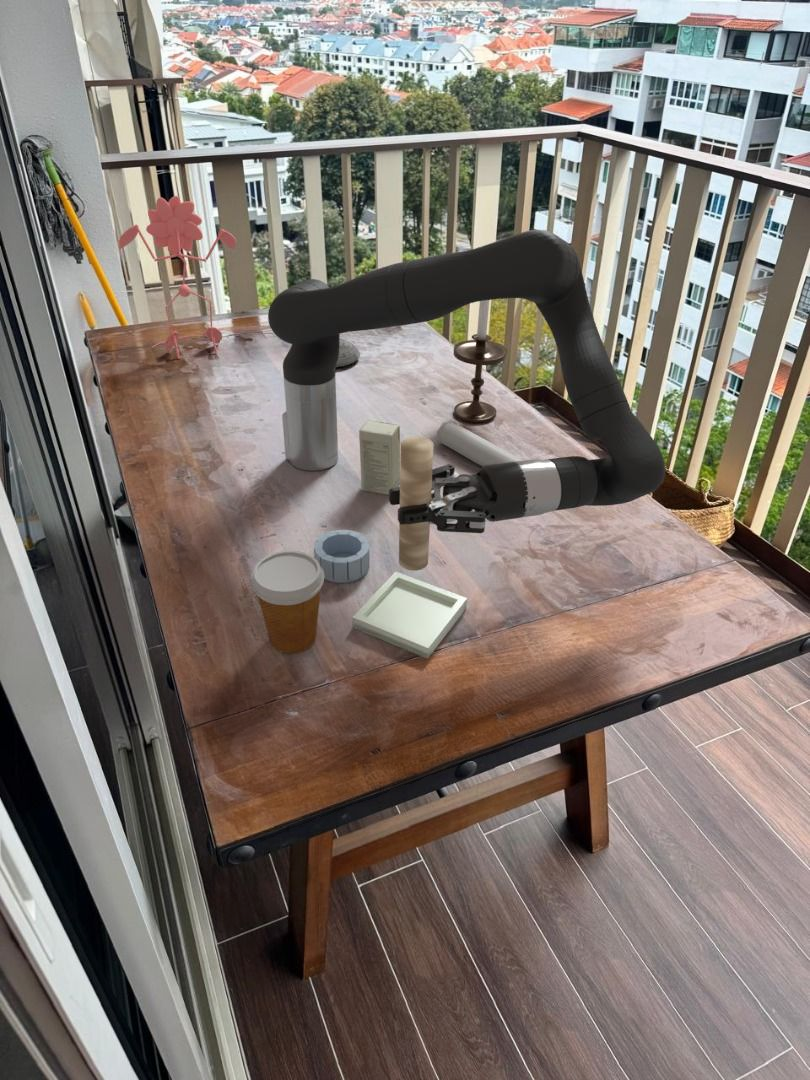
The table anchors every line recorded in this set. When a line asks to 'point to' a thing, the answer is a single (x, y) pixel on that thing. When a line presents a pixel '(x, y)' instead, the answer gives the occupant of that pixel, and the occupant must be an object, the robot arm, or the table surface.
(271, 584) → the disposable coffee cup
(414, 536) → the dowel
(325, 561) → the holder
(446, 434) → the tube
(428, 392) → the table surface
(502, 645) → the table surface
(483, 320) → the candlestick
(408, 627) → the tray
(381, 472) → the skincare box
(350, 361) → the flying saucer
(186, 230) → the figurine
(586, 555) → the table surface
